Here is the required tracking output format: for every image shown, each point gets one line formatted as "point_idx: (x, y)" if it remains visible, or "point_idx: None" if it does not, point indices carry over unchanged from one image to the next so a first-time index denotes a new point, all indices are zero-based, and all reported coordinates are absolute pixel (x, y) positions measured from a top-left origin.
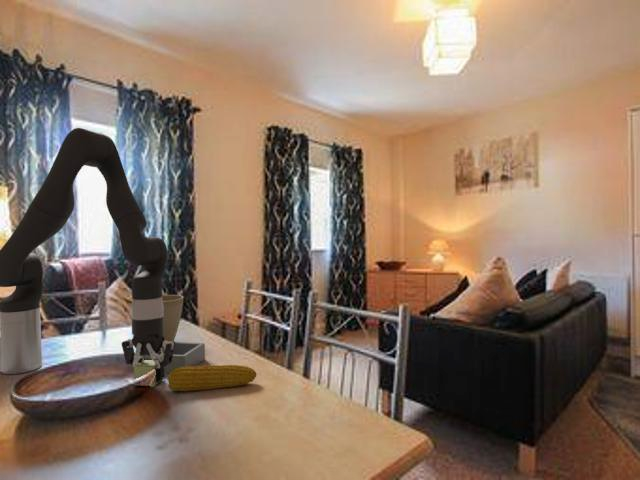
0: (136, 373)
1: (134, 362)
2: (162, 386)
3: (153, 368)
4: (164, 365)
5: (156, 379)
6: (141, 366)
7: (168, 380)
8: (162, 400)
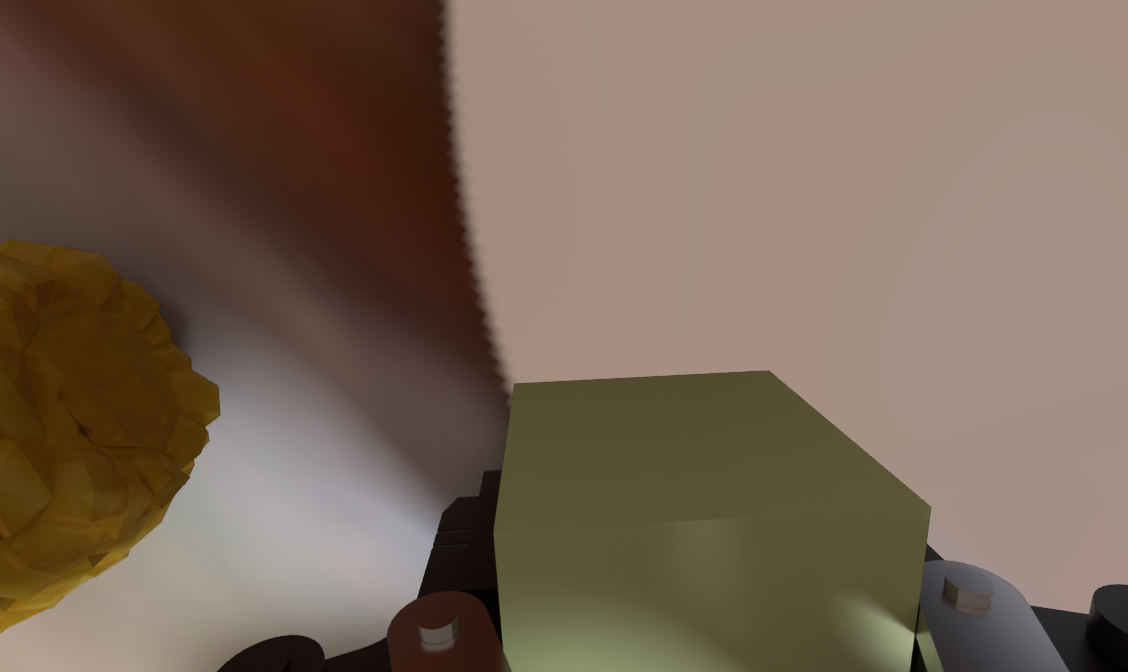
0: (807, 443)
1: (1008, 630)
2: (424, 440)
3: (502, 549)
4: (282, 651)
5: None
6: (757, 526)
7: (2, 268)
8: (110, 50)
